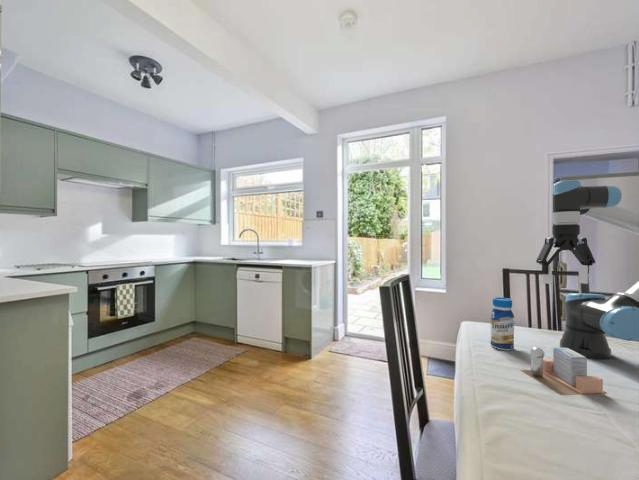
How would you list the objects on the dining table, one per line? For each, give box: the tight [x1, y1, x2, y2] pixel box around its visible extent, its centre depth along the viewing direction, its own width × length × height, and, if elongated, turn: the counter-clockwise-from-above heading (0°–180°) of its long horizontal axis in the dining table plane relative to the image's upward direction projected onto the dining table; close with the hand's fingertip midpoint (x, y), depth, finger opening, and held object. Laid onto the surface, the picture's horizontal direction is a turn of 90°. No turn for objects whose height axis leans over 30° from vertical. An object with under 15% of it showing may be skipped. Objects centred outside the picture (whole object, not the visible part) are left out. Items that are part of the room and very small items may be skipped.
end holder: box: [543, 358, 605, 395], centre depth 88 cm, size 7×14×4 cm, turn 4°
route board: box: [520, 369, 607, 396], centre depth 89 cm, size 14×15×1 cm
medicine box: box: [552, 346, 588, 386], centre depth 88 cm, size 8×4×9 cm, turn 173°
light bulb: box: [529, 346, 545, 378], centre depth 92 cm, size 4×4×9 cm
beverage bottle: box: [489, 296, 516, 351], centre depth 119 cm, size 8×8×20 cm
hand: (565, 283), depth 104 cm, fingers open, 13 cm apart
